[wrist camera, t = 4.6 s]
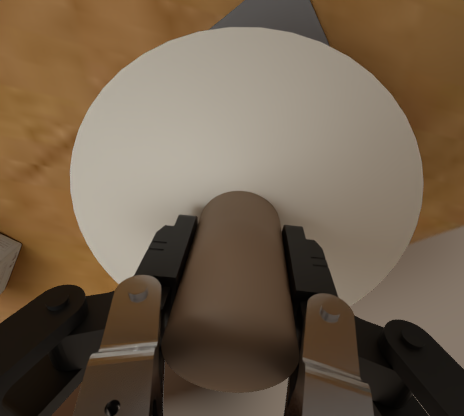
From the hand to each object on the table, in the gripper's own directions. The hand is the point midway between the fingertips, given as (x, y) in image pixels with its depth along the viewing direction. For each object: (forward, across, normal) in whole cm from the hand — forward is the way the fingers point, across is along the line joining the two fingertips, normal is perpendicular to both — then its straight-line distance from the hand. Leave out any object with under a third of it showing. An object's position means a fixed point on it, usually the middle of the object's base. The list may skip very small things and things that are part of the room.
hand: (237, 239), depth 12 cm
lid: (+2, 0, 0) cm, 2 cm away
